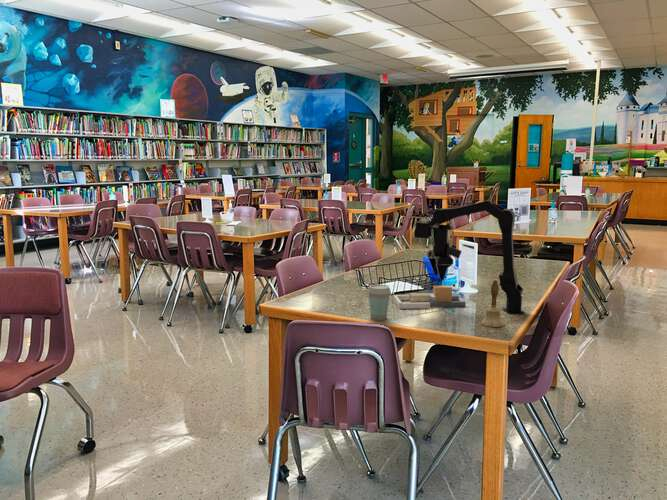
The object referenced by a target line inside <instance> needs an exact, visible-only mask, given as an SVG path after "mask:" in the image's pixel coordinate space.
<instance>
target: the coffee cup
mask: <svg viewBox="0 0 667 500" xmlns="http://www.w3.org/2000/svg"><path fill="white" fill-rule="evenodd" d="M367 293H368V301H369V304H368V305H369V313H370V319H371V320H375V321H384V320H386V319H387V316H388V309H389V301H390V294H391V288H390V286H389V285H386V284H379V283H378V284H370V285H369V286H368V289H367Z"/></svg>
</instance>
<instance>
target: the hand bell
mask: <svg viewBox="0 0 667 500" xmlns="http://www.w3.org/2000/svg"><path fill="white" fill-rule="evenodd" d="M499 288H500V287H499V283H498V280H497V279H496V280H495V279H494V280H493V281H492V284H491V287H490V295H491V304H490V307H489V308H487V309H486V313H485V315H484V318H483V319H482V320H480V321H481V322H480V324H481V325H483V326H485V327H490V328H491V327H493V328H500V327H502V328H503V327H504V326H505V322H504V321H503V320H502V317H501V311H500V309H499V308H498V307H497V298H498V295H499Z"/></svg>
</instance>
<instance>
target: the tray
mask: <svg viewBox="0 0 667 500" xmlns="http://www.w3.org/2000/svg"><path fill="white" fill-rule="evenodd" d="M392 300H393V301H394V304H395V305H396V306H397V307H398V309H430V308H431V307H430V303H429V302H427V303H409V302H402V301H409V294H393V295H392Z"/></svg>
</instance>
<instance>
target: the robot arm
mask: <svg viewBox="0 0 667 500" xmlns="http://www.w3.org/2000/svg"><path fill="white" fill-rule="evenodd" d="M481 212H487V213H489V215H491V216H492V217H494V218H496V219H497V223H498V226H499V229H500V232H501V240H502V241H501V243H502V244H501V245H502V258H503V259H502V262H503V263H502V264H503V265H502V266H503V271H502V272H500V274H499V275H498V279H499V283H498V287H499V286H500V288H501V291H503V292H504V293H505V296H506V303H505V304H506V305H505V307H503V308H502V310H503V311H505V312H506V313H508V314H525V311H524V310H523V309H522V307H523V306H522V305H523V296H522V294H523V292H524V288H523V287H522V286H521V285H520V284H519V280H518V275H517V271H516V269H515V256H514V255H515V254H514V235H513V232H514V226H515V223H516V222H515V221H516V213H515V211H513V210H512V209H510V208H504V207H503V206H501V205H498V204H497V203H495V202H493V201H492V200H490V199H485V200H484V201H483V200H482V201H479V202H476V203H471V204H466V205H463V206H459V207H446V208H445V207H443V208H439V209H437V210H435V211H434V212H433V214H432V218H431V219H430V221H429V222H423V221H416V224H415V228H414V230H413V231H414V232H413V233H414V234H413V235H414V239H420V240H423V239H424V240H430V239H431V238H432V241H431V245H432V249H429V250H428V251H427V252H426V257H427V259H428V261H429V264H430V266H431V270H432V271H433V275H434V276H436V277H437V276H438V277H439V280H440V281H444V280H445V276H446V273H447V270H448V268H449V267H451V266H452V265H454V258H457V259H460V257H461V255H462V250H461V249H458V248H457V246H456V245H455V244H450V243H449V241H448V239H449V238H448V237H449V231H451V230H453V229H454V226H452V225H451V224H450V223H449V221H452V220H454V219H456V218H458V217H459V218H460V217H463V216H467V215H468V216H469V215H472V214H476V213H481ZM447 222H448V223H447ZM444 223H447V224H444ZM436 225H438V226H436ZM453 257H454V258H453Z"/></svg>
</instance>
